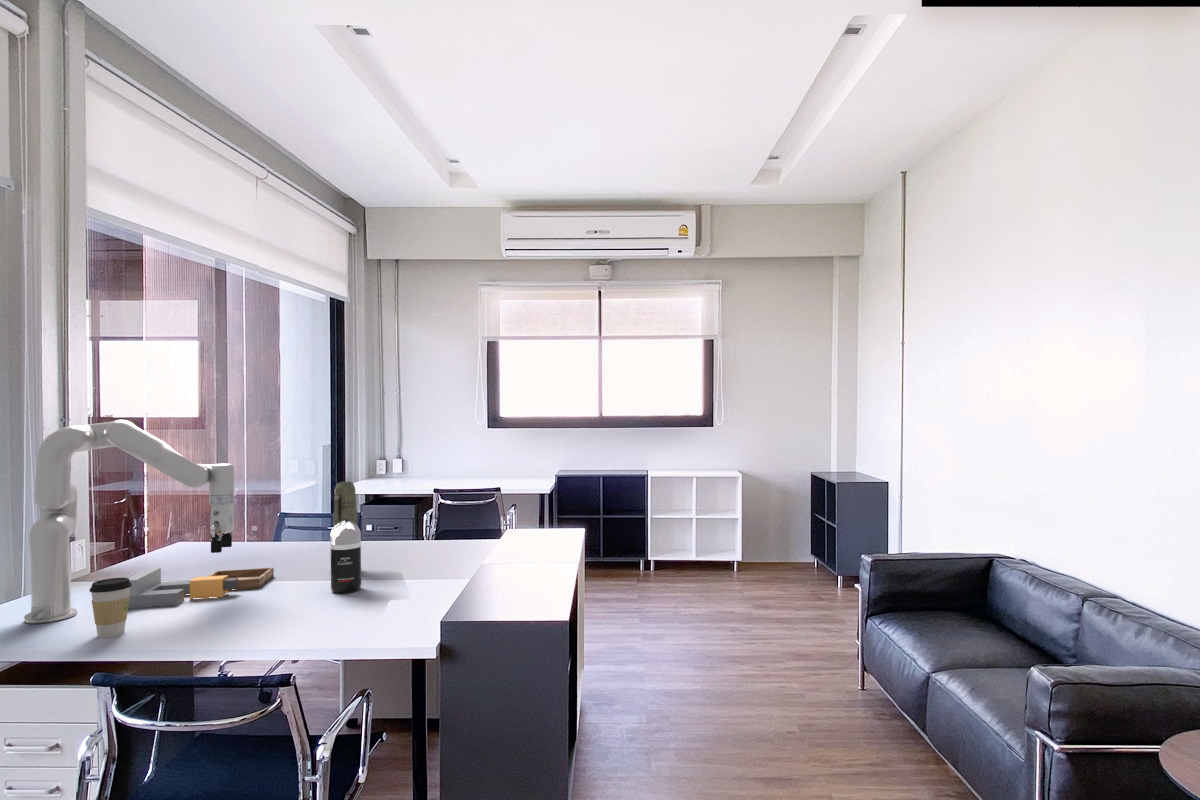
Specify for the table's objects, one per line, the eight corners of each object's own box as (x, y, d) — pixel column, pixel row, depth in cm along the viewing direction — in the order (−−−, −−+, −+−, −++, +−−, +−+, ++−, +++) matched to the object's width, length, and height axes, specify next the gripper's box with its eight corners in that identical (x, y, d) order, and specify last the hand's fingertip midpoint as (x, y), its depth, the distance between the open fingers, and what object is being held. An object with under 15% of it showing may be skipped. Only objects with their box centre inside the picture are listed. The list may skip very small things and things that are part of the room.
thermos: (327, 575, 259) (326, 483, 259) (342, 568, 271) (341, 480, 271) (348, 575, 258) (347, 483, 258) (363, 568, 269) (362, 480, 270)
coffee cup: (140, 628, 197) (139, 576, 197) (117, 639, 187) (116, 585, 187) (105, 629, 197) (105, 577, 197) (80, 640, 187) (80, 586, 187)
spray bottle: (330, 588, 239) (329, 517, 239) (361, 585, 242) (360, 515, 243) (330, 595, 229) (329, 521, 230) (362, 592, 233) (361, 519, 233)
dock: (177, 605, 221) (177, 577, 221) (122, 608, 217) (122, 580, 218) (198, 591, 238) (198, 565, 238) (148, 594, 235) (148, 568, 235)
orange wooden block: (233, 597, 230) (233, 578, 230) (189, 600, 227) (189, 580, 227) (238, 593, 235) (238, 574, 235) (196, 596, 232) (196, 577, 233)
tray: (259, 588, 240) (259, 578, 240) (198, 592, 236) (197, 582, 236) (273, 576, 258) (273, 567, 258) (216, 580, 254) (216, 570, 254)
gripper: (224, 502, 224) (224, 554, 224) (241, 496, 241) (241, 544, 241) (199, 503, 223) (199, 555, 223) (218, 497, 240) (218, 545, 239)
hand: (221, 549), depth 232 cm, fingers open, 9 cm apart
